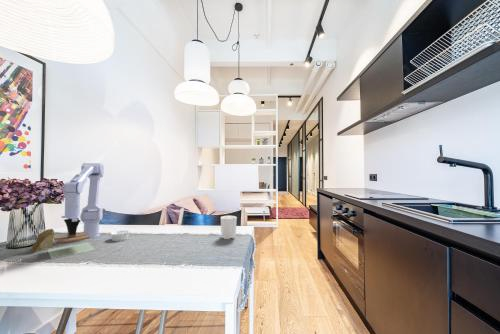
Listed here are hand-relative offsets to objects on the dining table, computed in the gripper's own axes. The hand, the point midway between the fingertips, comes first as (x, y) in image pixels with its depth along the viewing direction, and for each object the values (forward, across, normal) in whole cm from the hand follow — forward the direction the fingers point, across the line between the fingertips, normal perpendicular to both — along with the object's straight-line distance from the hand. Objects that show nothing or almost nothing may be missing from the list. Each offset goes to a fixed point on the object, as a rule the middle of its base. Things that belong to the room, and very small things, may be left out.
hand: (71, 233), depth 106 cm
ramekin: (+9, -2, +22) cm, 24 cm away
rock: (+8, -12, -10) cm, 18 cm away
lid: (+2, 0, 0) cm, 2 cm away
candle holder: (+8, +40, +68) cm, 79 cm away
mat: (+8, 0, 0) cm, 8 cm away
